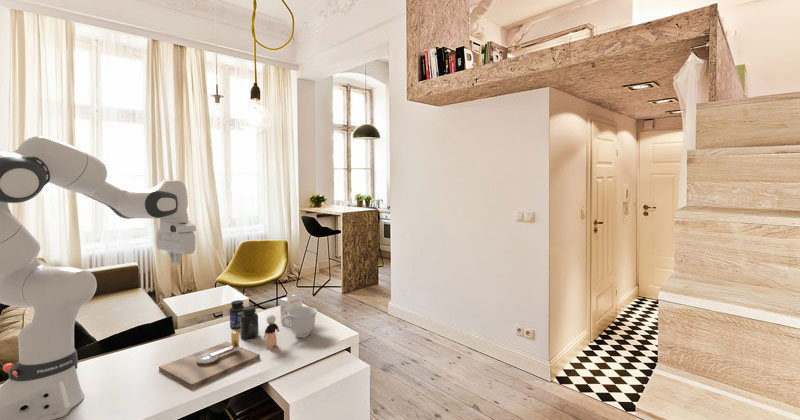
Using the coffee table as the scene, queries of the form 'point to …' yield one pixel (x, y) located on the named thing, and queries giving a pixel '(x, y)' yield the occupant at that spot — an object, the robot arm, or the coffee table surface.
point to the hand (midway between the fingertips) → (175, 264)
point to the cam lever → (214, 356)
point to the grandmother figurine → (271, 332)
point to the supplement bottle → (249, 323)
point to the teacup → (301, 320)
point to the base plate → (207, 365)
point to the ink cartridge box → (290, 304)
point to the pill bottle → (236, 314)
